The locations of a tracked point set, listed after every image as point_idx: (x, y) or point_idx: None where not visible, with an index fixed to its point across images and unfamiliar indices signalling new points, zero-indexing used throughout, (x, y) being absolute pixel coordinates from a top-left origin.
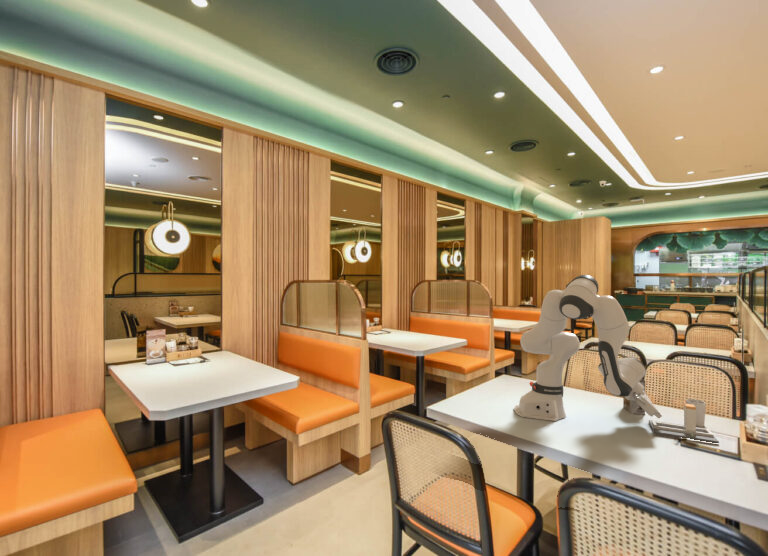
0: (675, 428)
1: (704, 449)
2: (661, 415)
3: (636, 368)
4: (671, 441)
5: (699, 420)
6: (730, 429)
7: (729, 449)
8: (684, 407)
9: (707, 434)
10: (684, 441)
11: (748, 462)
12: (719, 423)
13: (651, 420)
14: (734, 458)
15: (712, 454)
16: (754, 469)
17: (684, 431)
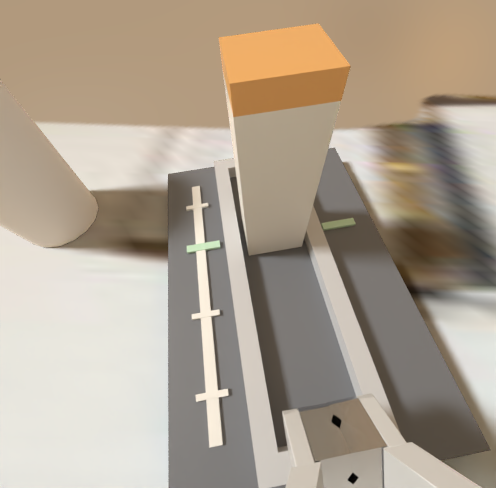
0: (331, 294)
1: (442, 201)
2: (373, 395)
3: None
4: (485, 332)
5: (80, 184)
6: (94, 130)
7: (348, 140)
8: (250, 128)
9: None
10: (407, 268)
11: (438, 111)
12: None
13: (169, 484)
14: (441, 134)
15: (478, 181)
16: (492, 105)
17: (329, 251)
